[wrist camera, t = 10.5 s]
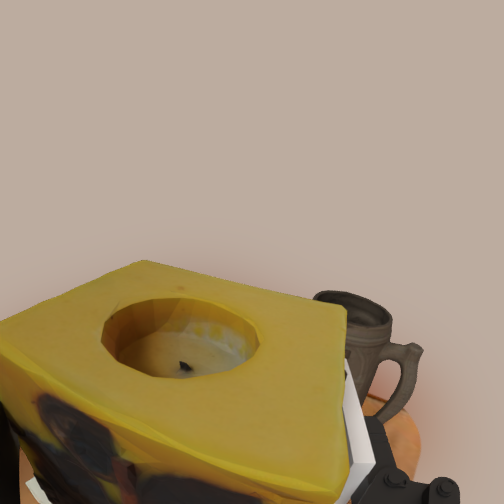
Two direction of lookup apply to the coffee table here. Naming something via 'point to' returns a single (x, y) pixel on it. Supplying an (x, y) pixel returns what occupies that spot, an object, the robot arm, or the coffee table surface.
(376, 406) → the coffee table surface
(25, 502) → the coffee table surface
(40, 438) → the candle
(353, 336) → the beer stein
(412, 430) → the coffee table surface
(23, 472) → the coffee table surface
